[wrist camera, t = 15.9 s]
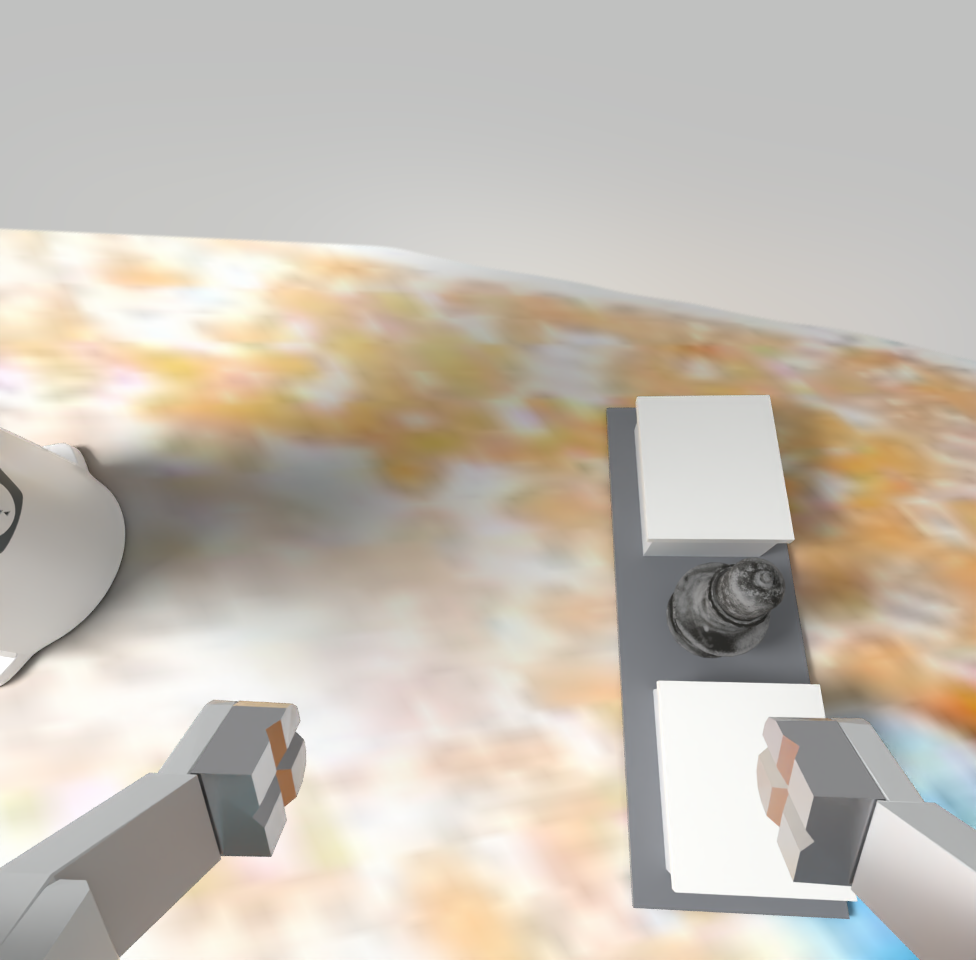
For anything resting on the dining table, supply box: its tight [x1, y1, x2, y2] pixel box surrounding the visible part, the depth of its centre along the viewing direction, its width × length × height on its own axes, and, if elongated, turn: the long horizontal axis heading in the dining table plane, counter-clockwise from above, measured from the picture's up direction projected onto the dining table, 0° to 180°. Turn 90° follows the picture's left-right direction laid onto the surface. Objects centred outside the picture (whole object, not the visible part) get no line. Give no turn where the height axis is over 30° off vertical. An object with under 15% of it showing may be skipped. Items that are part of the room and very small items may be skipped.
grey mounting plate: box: [606, 395, 857, 919], centre depth 39 cm, size 12×33×5 cm, turn 178°
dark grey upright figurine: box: [666, 558, 786, 658], centre depth 35 cm, size 6×6×12 cm
